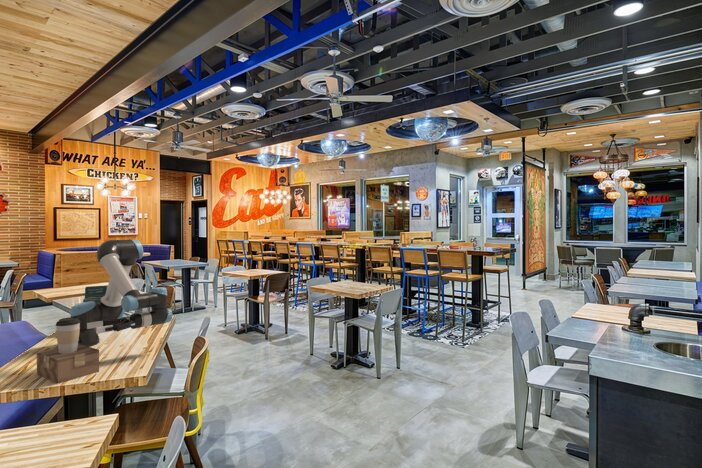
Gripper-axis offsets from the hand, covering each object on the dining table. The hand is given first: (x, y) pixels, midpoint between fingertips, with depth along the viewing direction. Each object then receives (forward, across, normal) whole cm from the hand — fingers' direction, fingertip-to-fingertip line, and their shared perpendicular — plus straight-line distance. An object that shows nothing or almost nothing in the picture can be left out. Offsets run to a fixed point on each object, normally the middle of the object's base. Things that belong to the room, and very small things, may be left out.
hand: (91, 328), depth 178 cm
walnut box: (+9, 0, -18) cm, 21 cm away
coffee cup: (+9, 0, -9) cm, 13 cm away
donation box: (-25, +76, -19) cm, 82 cm away
